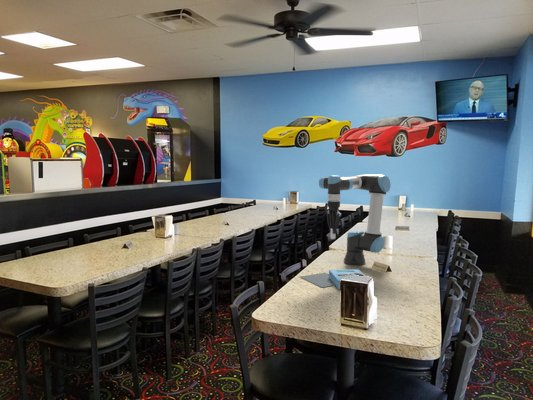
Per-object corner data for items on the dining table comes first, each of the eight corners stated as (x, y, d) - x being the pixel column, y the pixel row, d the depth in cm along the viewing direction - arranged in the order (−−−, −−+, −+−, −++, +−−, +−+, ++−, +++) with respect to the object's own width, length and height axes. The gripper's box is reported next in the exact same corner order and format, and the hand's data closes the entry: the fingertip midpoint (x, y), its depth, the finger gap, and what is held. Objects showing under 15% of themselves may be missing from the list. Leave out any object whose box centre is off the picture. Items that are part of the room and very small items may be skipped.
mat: (324, 273, 251) (324, 272, 251) (348, 283, 231) (348, 282, 231) (299, 277, 241) (299, 276, 241) (322, 288, 221) (322, 287, 221)
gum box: (328, 276, 239) (339, 290, 217) (329, 268, 239) (339, 282, 216) (358, 276, 242) (372, 290, 219) (359, 268, 241) (372, 282, 218)
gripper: (322, 200, 238) (321, 237, 240) (335, 202, 226) (334, 241, 229) (331, 199, 241) (331, 236, 244) (345, 201, 230) (344, 240, 233)
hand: (332, 238), depth 236 cm, fingers closed
